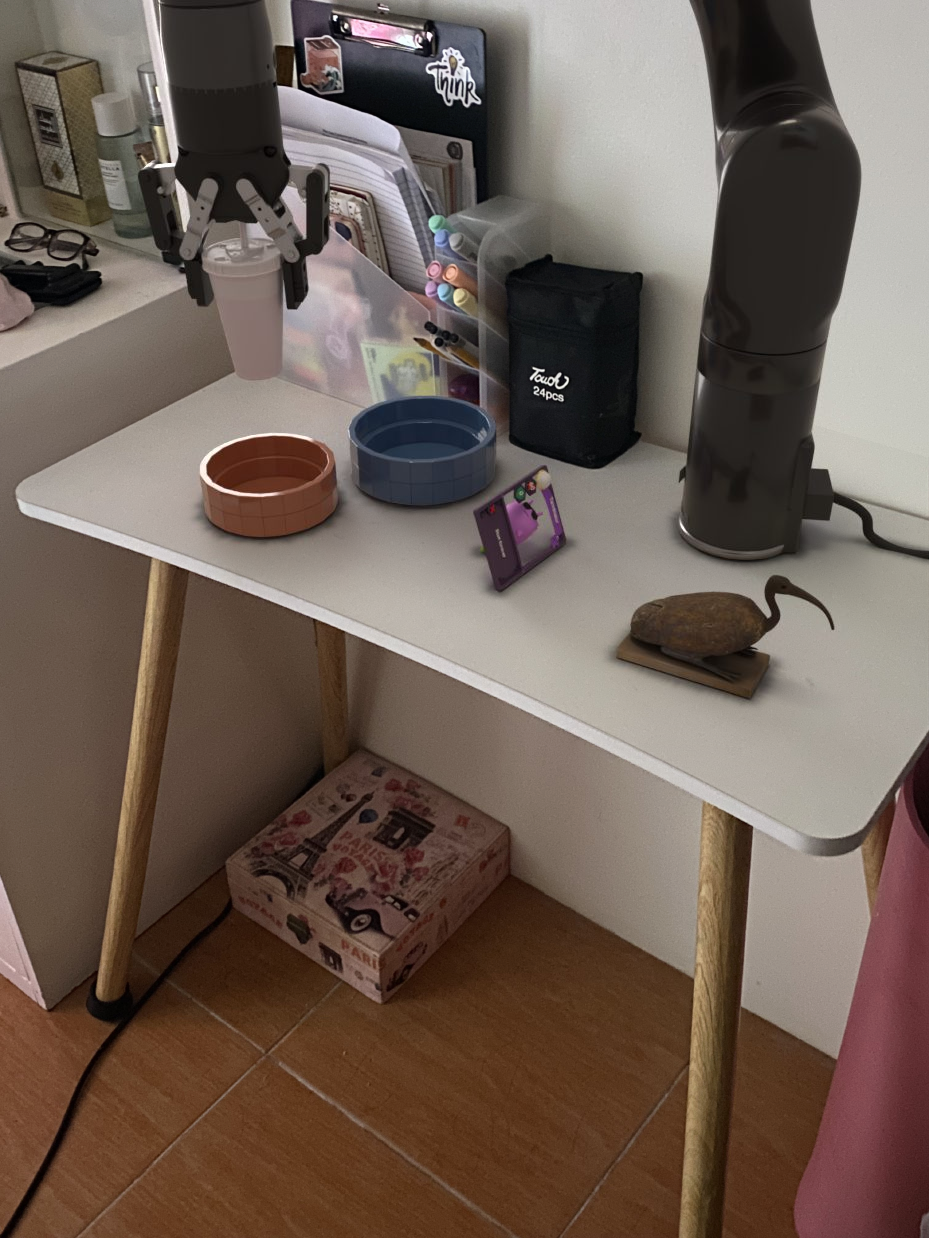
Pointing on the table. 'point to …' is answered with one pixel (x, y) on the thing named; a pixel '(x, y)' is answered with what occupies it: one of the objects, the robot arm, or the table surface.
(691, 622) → the figurine
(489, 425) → the blue bowl
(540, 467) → the purple framed piece
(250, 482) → the terracotta bowl
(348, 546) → the table surface
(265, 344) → the smoothie
